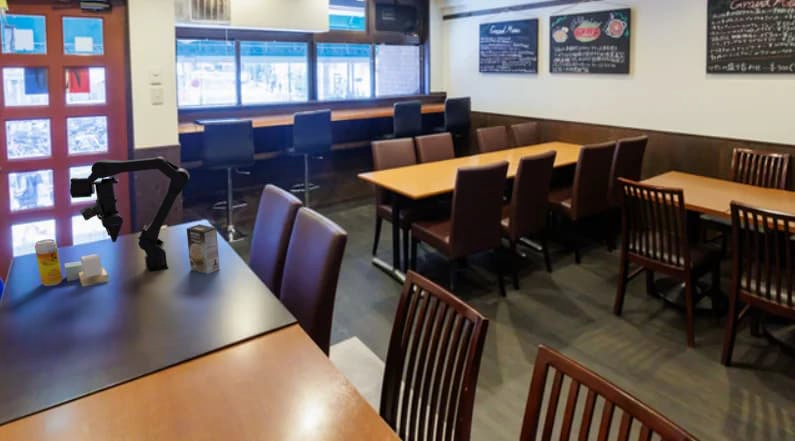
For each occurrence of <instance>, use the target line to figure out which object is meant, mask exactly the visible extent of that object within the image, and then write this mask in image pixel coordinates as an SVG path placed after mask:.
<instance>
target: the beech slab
mask: <svg viewBox="0 0 795 441" xmlns="http://www.w3.org/2000/svg"><path fill="white" fill-rule="evenodd" d="M78 274H79V279H80V280H79V279H78V280H79V282H80V285H81V284H82V285H81V286H83V287H87V286H91V285H98V284H103V283H107V282H109V275H108V272H107V271H106V269H105V268H104V267H102V274H100V275H96V276H91V277H86V276H85V275H84V273H83V272H78Z"/></svg>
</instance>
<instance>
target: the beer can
mask: <svg viewBox="0 0 795 441" xmlns="http://www.w3.org/2000/svg"><path fill="white" fill-rule="evenodd" d="M34 249H35V256H36V260H37V261H36V262H37V266H38V272H39V276H40V283H41V284H42V285H43V286H45V287H52V286H57V285H60V284H61V283H62V281H63V275H62V270H61V263H60V259H59V258H60V256H59V251H58V246H57V243H56V241H55V239H41V240H38V241H36V242H35V244H34Z"/></svg>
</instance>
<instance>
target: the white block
mask: <svg viewBox="0 0 795 441" xmlns="http://www.w3.org/2000/svg"><path fill="white" fill-rule="evenodd" d="M80 261H81V264H82V268H83V273H84V275H85V276H86V277H91V276H96V275H100V274H102V268H103V267H102V264H101V262H102V261H101V257H100V256H99V254H98V253H95V254H90V255H83V256H80Z"/></svg>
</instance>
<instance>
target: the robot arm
mask: <svg viewBox="0 0 795 441" xmlns="http://www.w3.org/2000/svg"><path fill="white" fill-rule="evenodd" d="M149 170H158V171H160V172H161V173H162V174H163V175H164V176H165V177H167V178H168V179H170V181H169V185H168V189H167V192H166V194H165V195H164V197H163V200H162V201H161V203H160V205H159V208H158V209H157V212H156V213H155V215H154V218H153V220H152V222H151V223H150V224H149V225H146V224H144V226H143V227H142V230H141V232H140V233H139V235H138V237H137V239H138V246H139V248H140V249H141V250H143V251H144V253H145V256H144V263H145V267H146V269H147V270H148V271H149V272H154V271H160V270H164V269H169V265H168V262H167V253H166V252H167V251H166V250H165V248H164V246H165V242H164V241H163V240H162V239H160V238H159V236H160V233H161V228H162V226H163V225H164V223H165V221H166V219H167V217H168V214H169V212H170V211H171V209H172V207H173V205H174V203H175V201H176V199H177V197H178V196H179V195H180V193H181V192H182V191H183V190H184V188H186V186H187V184H188V183H189V180H190V173H189V171H188V170H187V169H186V168H180V167H178V166H177V165H175V164H173V162H170V161H169V160H167V159H166V158H164V157H163V156H156V157H150V158H149V157H148V158H138V159H129V160H116V159H104V158H102V159H98V160H97V161H96V162H94V163H93V165H91V169H90V171H91V173H90V174H89V175H88V176H87V177H80V178H79V177H78V178H77V177H71V178H70V183H69V184H70V185H69V186H70V187H69V188H70V189H69V193H70V197H71V198H72V199H78V198H79V199H80V198H92V196H93V195H95V194H96V199H95V203H93V204H91V205H88V206H85V207H83V208H82V209H80V210H79V212H80V214H81V215H82V217H83V219H84V221H89V220H91V219H92V218H93V217H97V219H98V220H99V221H101V225H102V227H103V228H105V231H106V233H107V235H108V236H109V237H110V240H111V242H112V243H115V242H117V239H118V236H119V234H120V231H121V228H122V226H123V224H124V220H123V217H122V216H121V214H119V210H118V204H117V203H118V200H117V197H116V191H115V184H119V182H120V179H119V178H117V177H116V175H118V174H123V173H130V172H131V173H132V172H141V171H149ZM109 177H110V178H109ZM99 179H101V180H99Z"/></svg>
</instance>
